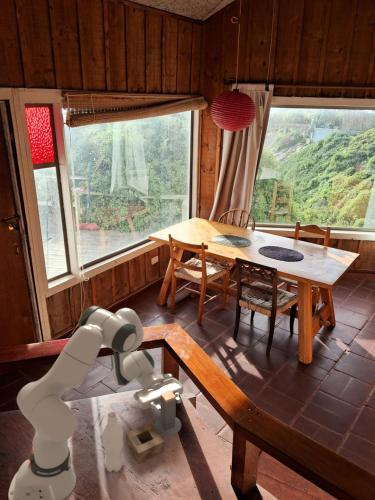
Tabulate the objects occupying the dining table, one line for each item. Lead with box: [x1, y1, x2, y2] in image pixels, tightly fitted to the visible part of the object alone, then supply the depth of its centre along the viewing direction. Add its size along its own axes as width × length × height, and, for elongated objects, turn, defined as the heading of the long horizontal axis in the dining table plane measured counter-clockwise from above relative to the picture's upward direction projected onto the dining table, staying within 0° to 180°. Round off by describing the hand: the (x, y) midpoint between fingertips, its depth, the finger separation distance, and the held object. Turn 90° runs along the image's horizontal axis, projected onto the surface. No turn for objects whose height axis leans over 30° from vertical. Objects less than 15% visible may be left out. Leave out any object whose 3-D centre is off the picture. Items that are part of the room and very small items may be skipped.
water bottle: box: [102, 411, 125, 473], centre depth 148 cm, size 7×7×25 cm
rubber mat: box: [154, 416, 182, 436], centre depth 171 cm, size 11×11×1 cm
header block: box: [125, 422, 165, 464], centre depth 159 cm, size 11×11×6 cm
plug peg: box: [160, 390, 177, 431], centre depth 168 cm, size 4×4×16 cm
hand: (169, 405), depth 166 cm, fingers open, 8 cm apart
